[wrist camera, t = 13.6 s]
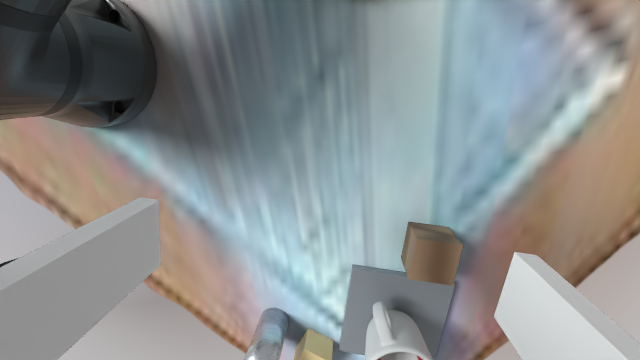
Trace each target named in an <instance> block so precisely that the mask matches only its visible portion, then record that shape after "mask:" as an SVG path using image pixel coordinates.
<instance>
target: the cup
mask: <svg viewBox="0 0 640 360" xmlns="http://www.w3.org/2000/svg"><path fill="white" fill-rule="evenodd" d="M365 360H433V359H432V357H431V355H430V352H429V350H428V348H427V346H426V344H425V341H424V339H423V337H422V335H421V333H420V330H419V328H418V326H417V325H416V323H415V322H414V320H413V319H412V318H411V317H410V316H408V315H407V314H405V313H403V312H400V311H397V310H387V309H386V306H385V304H384V303H383V302H377V303H375V304H374V305H373V318H372V320H371V321H370V323H369V325H368V328H367V334H366V348H365Z"/></svg>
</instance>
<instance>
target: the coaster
mask: <svg viewBox="0 0 640 360" xmlns="http://www.w3.org/2000/svg"><path fill="white" fill-rule="evenodd" d="M454 287H455V283H453V286H451V285H444V284H437V283H430V282H424V281H417V280H410V279H408V277H407V274H406V272H399V271H392V270H385V269H379V268H372V267H365V266H359V265H352V269H351V276H350V282H349V288H348V294H347V300H346V306H345V312H344V319H343V325H342V331H341V337H340V343H339V351H342V352H348V353H354V354H361V355H365V348H366V334H367V328H368V325H369V323H370V321H371V320H372V318H373V305H374V304H375V303H377V302H383V303H384V304H385V306H386V309H387V310H397V311H400V312H403V313H405V314H407V315H408V316H410V317H411V318H412V319H413V320H414V322H415V323H416V325H417V326H418V328H419V330H420V333H421V335H422V337H423V339H424V341H425V344H426V346H427V348H428V350H429V352H430V355H431V357H432V359H433V360H435V358H436V354H437V351H438V347H439V343H440V339H441V336H442V332H443V328H444V325H445V321H446V317H447V313H448V310H449V306H450V302H451V298H452V295H453V291H454Z"/></svg>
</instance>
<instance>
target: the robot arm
mask: <svg viewBox="0 0 640 360" xmlns="http://www.w3.org/2000/svg"><path fill="white" fill-rule="evenodd" d="M155 80H156V61H155V55H154V50H153V47H152V44H151V41H150V38H149V36H148V34H147V32H146V30H145V28H144V27H143V25H142V24H141V22H140V21H139V19H138V18H137V17H136V16H135V14H134V13H133V12H132V11H131V10H130V9H129V8H128V7H127V6H126V5H124V4H123V3H122V2H120V1H119V0H0V120H2V119H14V118H25V117H35V116H43V117H47V118H51V119H55V120H58V121H62V122H66V123H70V124H74V125H78V126H82V127H96V128H97V127H106V126H114V125H119V124H122V123H125V122H127V121H129V120H131V119H132V118H134V117H135V116H136V115H138V114H139V113H140V112H141V111H142V110H143V109H144V107H145V106H146V104H147V103H148V101H149V99H150V97H151V95H152V92H153V89H154V85H155ZM160 265H161V260H160V212H159V200H155V199H148V198H141V197H139V198H137V199H135V200H133V201H131V202H129V203H127V204H125V205H123V206H121V207H119V208H117V209H115V210H114V211H112V212H110V213H108V214H106V215H104V216H102V217H100V218H98V219H96V220H94V221H92V222H90V223H88V224H86V225H84V226H82V227H80V228H78V229H76V230H74V231H72V232H70V233H68V234H66V235H64V236H62V237H60V238H58V239H56V240H54V241H52V242H50V243H48V244H46V245H44V246H42V247H40V248H38V249H36V250H34V251H32V252H30V253H28V254H26V255H24V256H22V257H20V258H17V259H14V260H11V261H8V262H4V263H2V264H0V360H58V359H59V358H60V357H61V356H62V355H63V354H64V353H65V352H66V351H68V350H69V349H70V348H71V347H72V346H73V345H74V344H75V343H76V342H77V341H78V340H79V339H81V338H82V337H83V336H84V335H85V334H86V333H87V332H88V331H89V330H90V329H91V328H92V327H93V326H95V325H96V324H97V323H98V322H99V321H100V320H101V319H102V318H103V317H104V316H105V315H107V314H108V313H109V312H110V311H111V310H112V309H113V308H114V307H115V306H116V305H117V304H119V303H120V302H121V301H122V300H123V299H124V298H125V297H126V296H127V295H128V294H129V293H130V292H132V291H133V290H134V289H135V288H136V287H137V286H138V285H139V284H140V283H141V282H142V281H144V280H145V279H146V278H147V277H148V276H149V275H150V274H151V273H152V272H153V271H154V270H155V269H157V268H158V267H159V266H160ZM494 318H495V319H496V321H497V322H498V324H499V325H500V327H501V328H502V330H503V331H504V333H505V334H506V336H507V338H508V339H509V341H510V342H511V344H512V345H513V347H514V348H515V350H516V351H517V353H518V354H519V356H520V357H521V359H522V360H640V344H639V342H637V341H636V340H635V339H634V338H633V337H631V336H630V335H629V334H628V333H627V332H626V331H625V330H623V329H622V328H621V327H620V326H619V325H618V324H616V323H615V322H614V321H613V320H612V319H611V318H609V317H608V316H607V315H606V314H605V313H604V312H602V311H601V310H600V309H599V308H598V307H597V306H595V305H594V304H593V303H592V302H591V301H590V300H588V299H587V298H586V297H585V296H583V294H581V293H580V292H579V291H578V290H577V289H576V288H574V287H573V286H572V285H571V284H570V283H569V282H567V281H566V280H565V279H564V278H563V277H562V276H560V275H559V274H558V273H557V272H556V271H555V270H553V269H552V268H551V267H550V266H549V265H548V264H546V263H545V262H544V261H543V260H542V259H541V258H539V257H538V256H537V255H532V254H525V253H519V252H514V256H513V259H512V262H511V265H510V268H509V271H508V274H507V277H506V280H505V283H504V287H503V290H502V293H501V296H500V299H499V302H498V305H497V308H496V311H495V314H494Z"/></svg>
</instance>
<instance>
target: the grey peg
mask: <svg viewBox="0 0 640 360" xmlns="http://www.w3.org/2000/svg"><path fill="white" fill-rule="evenodd" d="M288 323H289V319H288V316H287V315H286V313H285V312H284V311H282V310H280V309H277V308H269V309H267V310H265V311H264V312H263V313H262V315H261V318H260V320H259V323H258V325H257V328H256V331H255V333H254V336H253V338H252V341H251V343H250V346H249V349H248V351H247V354H246V356H245V359H244V360H279V358H280V354H281V351H282V347H283V343H284V339H285V335H286V331H287V327H288Z"/></svg>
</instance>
